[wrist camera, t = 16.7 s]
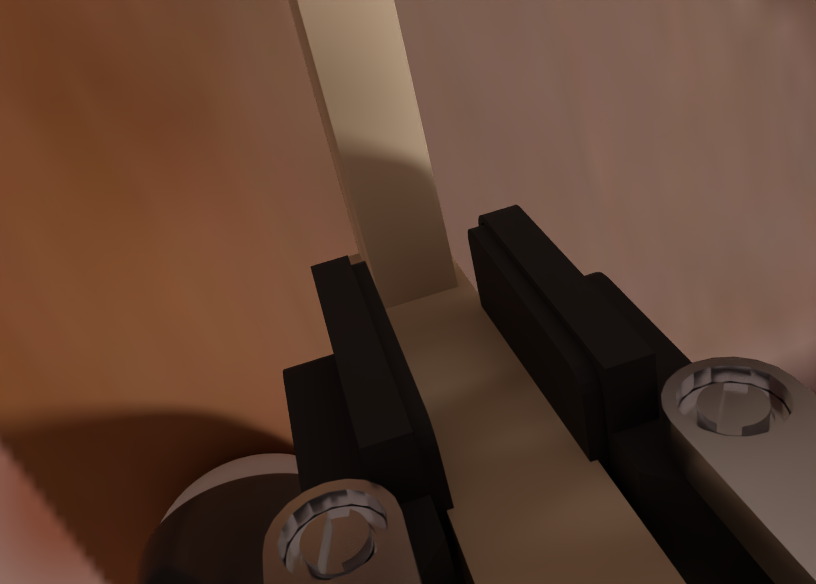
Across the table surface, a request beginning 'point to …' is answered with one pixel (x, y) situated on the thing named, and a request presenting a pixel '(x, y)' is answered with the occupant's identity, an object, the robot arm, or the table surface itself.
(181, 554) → the pump dispenser
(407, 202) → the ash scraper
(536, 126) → the table surface
